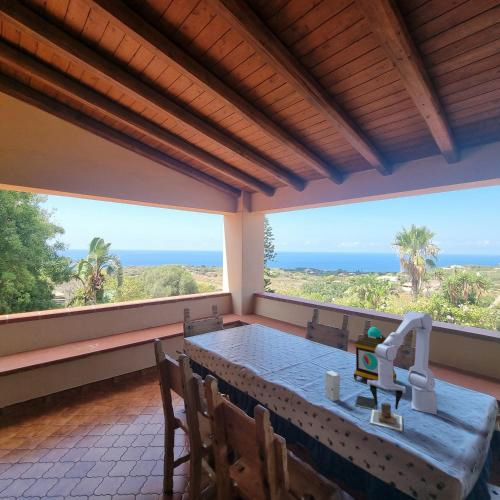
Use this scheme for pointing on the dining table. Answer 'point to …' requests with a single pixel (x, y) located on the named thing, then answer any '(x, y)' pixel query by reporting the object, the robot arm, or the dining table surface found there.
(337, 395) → the skincare box
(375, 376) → the decorative lantern
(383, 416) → the stamp
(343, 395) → the dining table surface
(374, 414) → the marked board
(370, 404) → the ink pad
